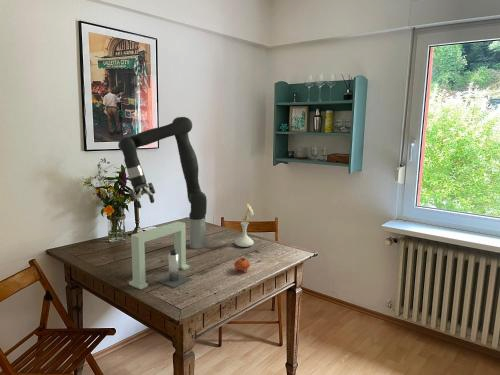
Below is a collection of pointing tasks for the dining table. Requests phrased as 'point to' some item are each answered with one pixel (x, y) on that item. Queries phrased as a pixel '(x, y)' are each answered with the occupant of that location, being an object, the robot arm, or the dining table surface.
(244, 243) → the flower in vase
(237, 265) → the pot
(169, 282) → the rubber mat
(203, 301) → the dining table surface
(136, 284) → the frame
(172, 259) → the plug peg
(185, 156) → the robot arm
